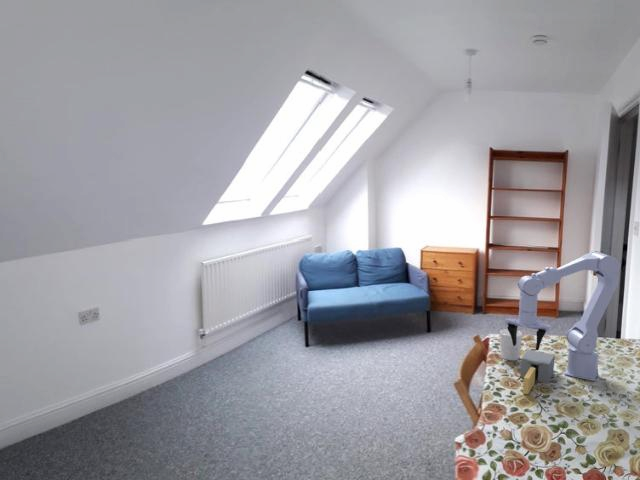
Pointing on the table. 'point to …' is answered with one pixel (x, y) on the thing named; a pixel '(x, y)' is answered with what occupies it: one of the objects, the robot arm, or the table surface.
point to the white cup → (509, 345)
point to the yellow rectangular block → (529, 380)
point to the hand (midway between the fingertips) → (525, 347)
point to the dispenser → (538, 364)
